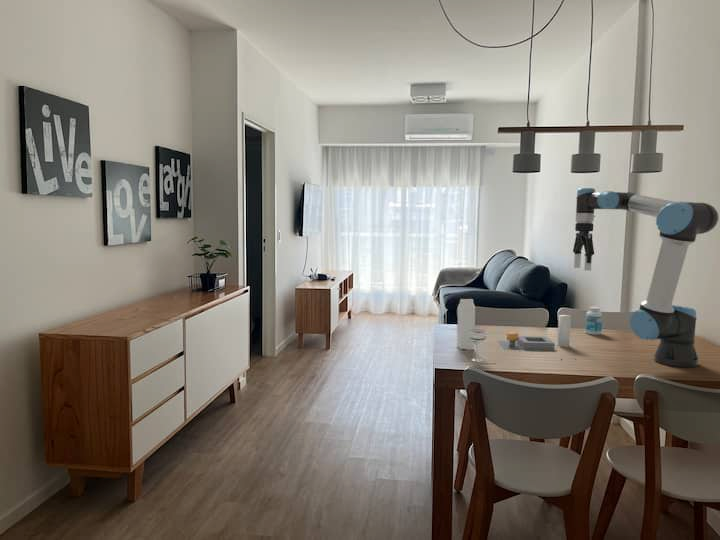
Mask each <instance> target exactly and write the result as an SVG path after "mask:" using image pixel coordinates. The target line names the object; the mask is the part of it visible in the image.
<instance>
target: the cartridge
mask: <svg viewBox="0 0 720 540" xmlns="http://www.w3.org/2000/svg"><path fill="white" fill-rule="evenodd" d="M571 321H572V316H571V315H569V314H559V315H558V330H557V346H558V347H561V348H570V343H571V327H572V326H571V324H572V323H571Z"/></svg>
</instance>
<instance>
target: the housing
mask: <svg viewBox="0 0 720 540" xmlns="http://www.w3.org/2000/svg"><path fill="white" fill-rule="evenodd" d="M497 343H498V344H499V345H500V346H501V348H503V350H504V351H505V350H506V351H534V352H535V351H540V352H541V351H542V352H557V350H556V349H555V342H554V341H553V340H551V339H550V338H549V337H547V336H538V335H536V336H535V335H518V341H509V340H506V341H505V340H504V341H503V340H497Z"/></svg>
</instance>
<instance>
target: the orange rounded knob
mask: <svg viewBox="0 0 720 540" xmlns="http://www.w3.org/2000/svg"><path fill="white" fill-rule="evenodd" d="M518 336H519V333H518V332H515V331H514V332H513V331H508V332H507V333H506V341H515V342H517V341H518Z"/></svg>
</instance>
